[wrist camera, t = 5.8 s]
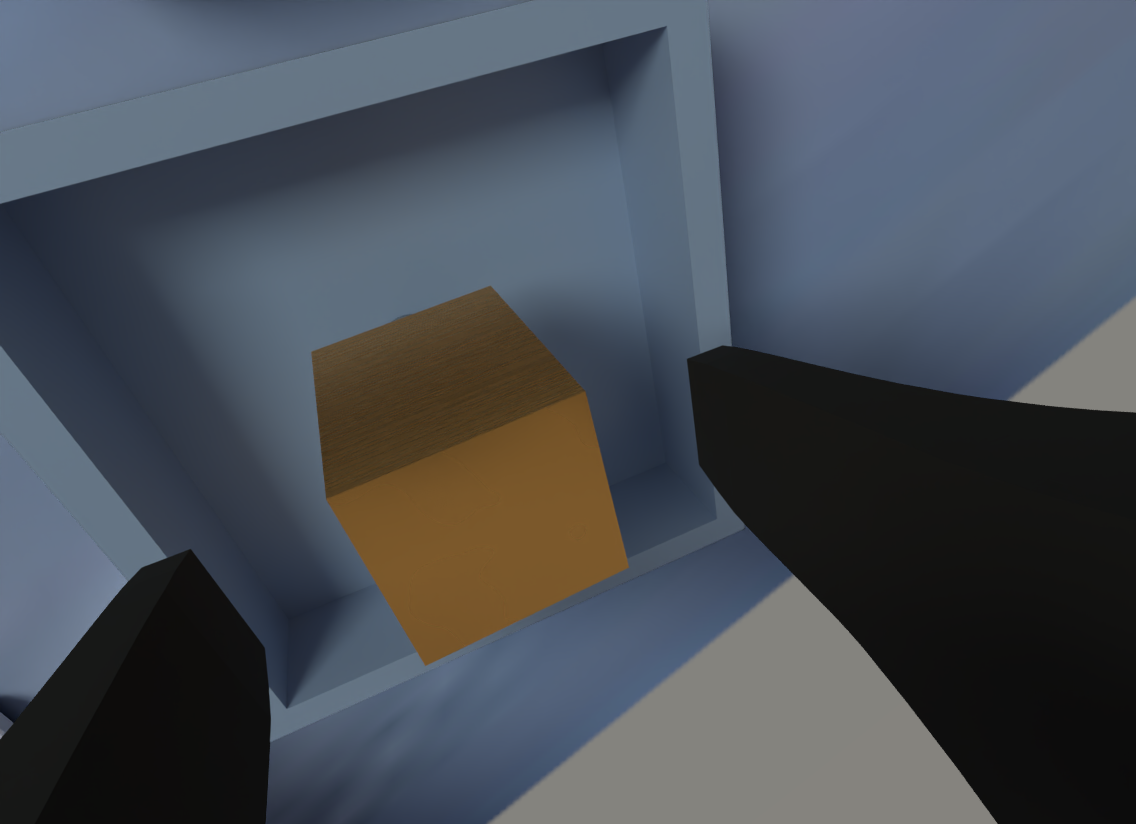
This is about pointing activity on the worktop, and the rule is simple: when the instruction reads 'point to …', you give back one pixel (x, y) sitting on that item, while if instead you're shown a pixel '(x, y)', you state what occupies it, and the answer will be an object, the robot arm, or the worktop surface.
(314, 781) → the worktop surface
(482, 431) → the orange rectangular block
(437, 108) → the tray
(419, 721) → the worktop surface
